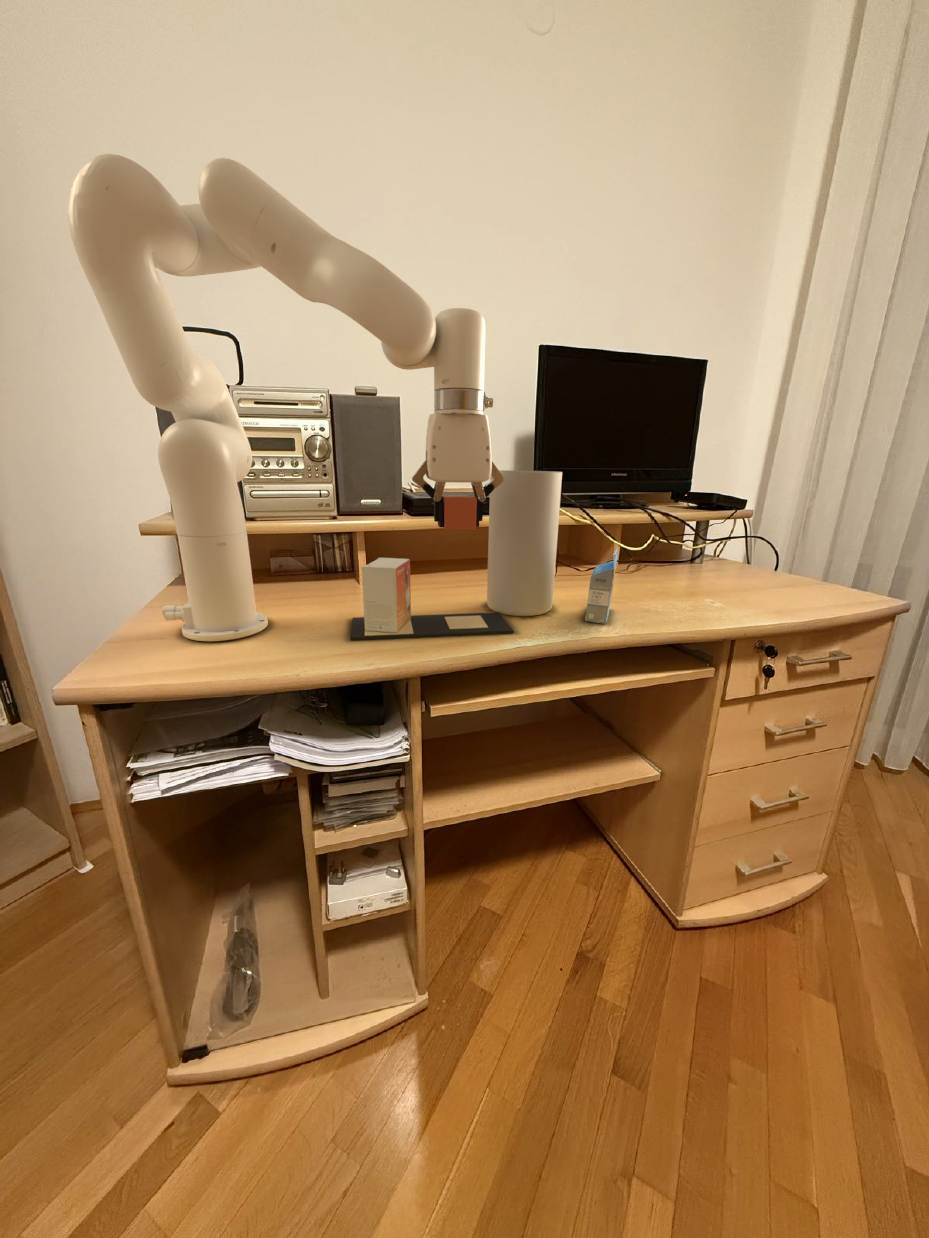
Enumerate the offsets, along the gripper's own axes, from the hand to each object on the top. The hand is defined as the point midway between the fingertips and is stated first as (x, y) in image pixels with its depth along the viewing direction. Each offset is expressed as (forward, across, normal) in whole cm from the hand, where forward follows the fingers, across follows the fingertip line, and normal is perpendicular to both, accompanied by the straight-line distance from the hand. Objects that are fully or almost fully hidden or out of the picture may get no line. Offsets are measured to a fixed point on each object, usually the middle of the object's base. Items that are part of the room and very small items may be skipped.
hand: (458, 525), depth 80 cm
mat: (+17, +5, +2) cm, 17 cm away
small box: (+16, +12, +2) cm, 20 cm away
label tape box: (+17, -26, 0) cm, 31 cm away
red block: (0, 0, 0) cm, 0 cm away
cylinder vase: (+17, -13, -7) cm, 22 cm away
